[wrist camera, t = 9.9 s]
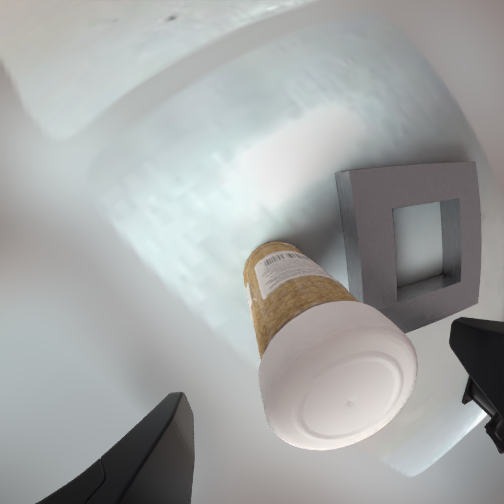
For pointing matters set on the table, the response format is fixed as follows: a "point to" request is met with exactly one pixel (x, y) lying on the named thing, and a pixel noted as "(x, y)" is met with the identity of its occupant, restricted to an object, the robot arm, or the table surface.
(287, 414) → the sprinkles bottle
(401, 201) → the metal collar
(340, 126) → the table surface
